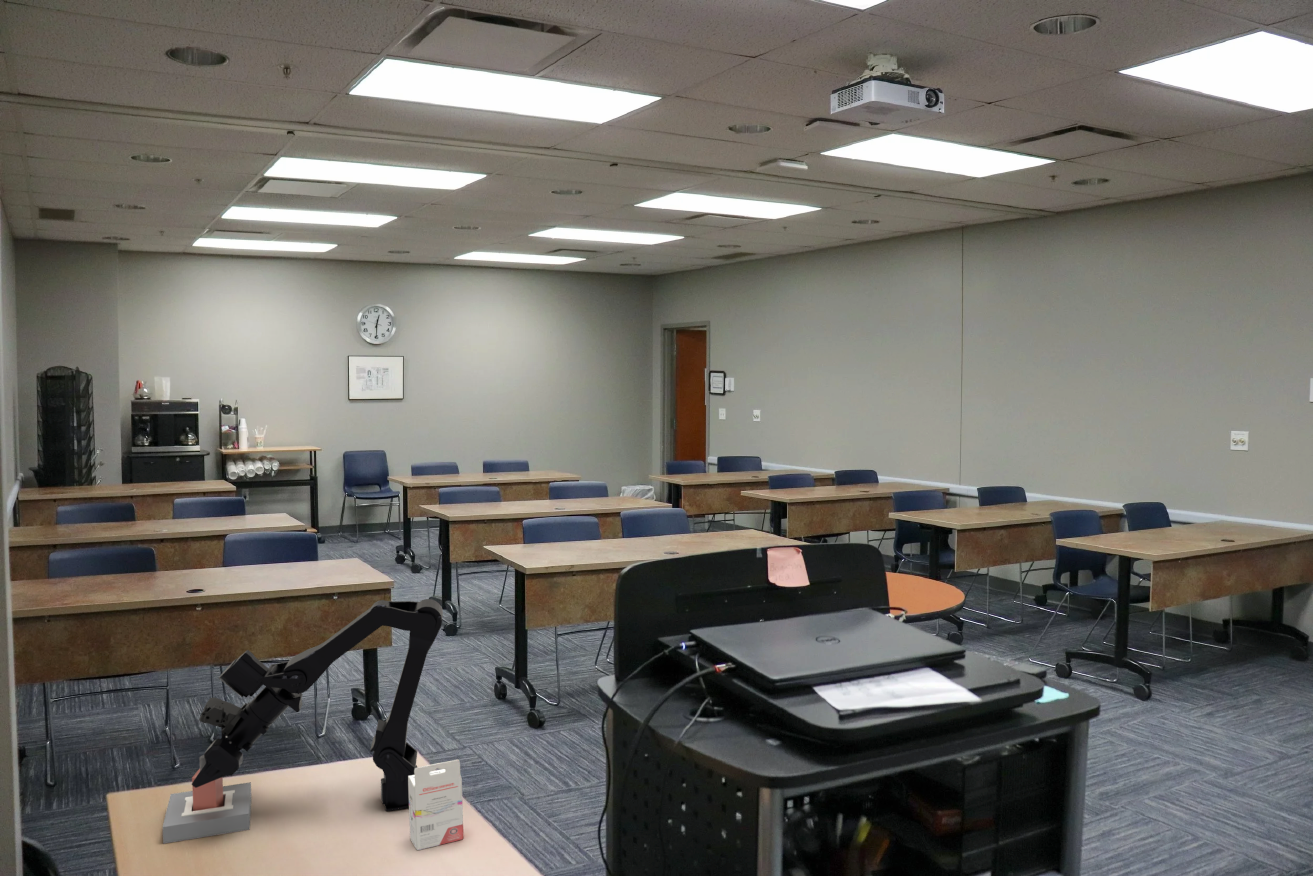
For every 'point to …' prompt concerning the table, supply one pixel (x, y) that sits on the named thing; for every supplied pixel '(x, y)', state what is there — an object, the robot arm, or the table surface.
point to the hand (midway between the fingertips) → (200, 775)
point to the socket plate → (207, 815)
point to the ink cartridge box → (435, 805)
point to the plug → (207, 792)
